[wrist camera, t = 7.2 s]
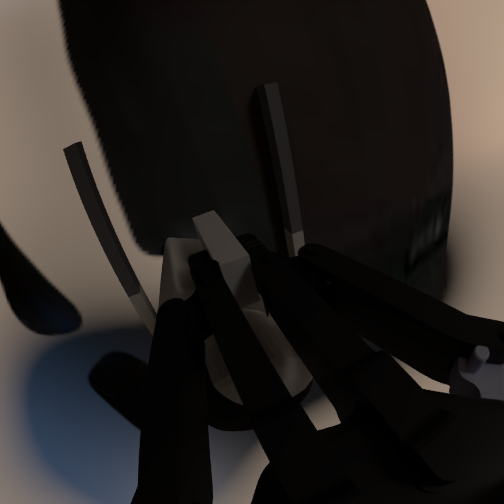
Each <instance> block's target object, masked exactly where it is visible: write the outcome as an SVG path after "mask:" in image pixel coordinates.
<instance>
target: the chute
mask: <svg viewBox="0 0 504 504" xmlns="http://www.w3.org/2000/svg"><path fill="white" fill-rule="evenodd" d="M256 89H257V93H258V97H259V102H260V106H261V111H262V116H263V120H264V125H265V130H266V135H267V140H268V144H269V149H270V154H271V159H272V165H273V170H274V175H275V180H276V186H277V191H278V196H279V202H280V208H281V213H282V219H283V225H284V231H285V236H286V242H287V249H288V255H289V257H294V256H298V250H299V249H300V248H301V247H302V246H304V245H305V244H304V236H303V229H302V221H301V214H300V207H299V200H298V194H297V187H296V181H295V174H294V168H293V162H292V157H291V151H290V145H289V140H288V134H287V129H286V124H285V118H284V113H283V108H282V104H281V99H280V94H279V89H278V85H277V83H270V84H264V85H260V86H257V87H256ZM63 150H64V153H65V156H66V160H67V163H68V165H69V168H70V171H71V174H72V177H73V180H74V182H75V185H76V188H77V190H78V193H79V195H80V198H81V200H82V203H83V205H84V208H85V210H86V212H87V215H88V217H89V219H90V222H91V224H92V226H93V228H94V231H95V233H96V235H97V237H98V239H99V241H100V244H101V246H102V247H103V250H104V252H105V254H106V256H107V258H108V260H109V262H110V264H111V265H112V268H113V270H114V271H115V273H116V275H117V277H118V279H119V281H120V283H121V284H122V286H123V288H124V290H125V292H126V293H127V295H128V297H129V299H130V300H131V302H132V304H133V305H134V307H135V309H136V310H137V312H138V314H139V315H140V317H141V319H142V320H143V322H144V324H145V325H146V327H147V328H148V330H149V331H150V333H151V334H152V336H153V334H154V328H155V323H156V317H157V314H156V312H155V310H154V308H153V307H152V305H151V303H150V301H149V299H148V297H147V296H146V294H145V292H144V290H143V288H142V286H141V284H140V282H139V281H138V279H137V277H136V275H135V273H134V271H133V269H132V267H131V265H130V263H129V261H128V258H127V256H126V254H125V252H124V250H123V248H122V246H121V244H120V242H119V239H118V237H117V235H116V233H115V230H114V228H113V226H112V223H111V221H110V219H109V216H108V214H107V212H106V209H105V207H104V204H103V201H102V199H101V196H100V194H99V191H98V189H97V187H96V183H95V181H94V178H93V175H92V172H91V169H90V167H89V164H88V160H87V158H86V154H85V152H84V148H83V145H82V142H77V143H74V144H72V145H70V146H68V147H67V148H65V149H63Z"/></svg>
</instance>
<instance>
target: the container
mask: <svg viewBox="0 0 504 504" xmlns="http://www.w3.org/2000/svg"><path fill="white" fill-rule="evenodd" d="M200 251H203V249H202V246H201V243H200V240H196V239H184V238H172V237H170V238H167V239H166V241H165V247H164V255H163V264H162V274H161V284H160V296H159V307H160V306H161V305H162V304H163V303H164V302H165V301H167V300H169V299H172V298H181V299H183V300H184V301H185V300H186V299H188V298H189V297H190V296H192V294H193V293H194V292H195V289H196V286H195V284H194V281H193V279H192V277H191V274H190V267H189V264H188V258H189V256H190V255H192V254H195V253H197V252H200ZM259 296H260V301H257V302H255V303H253V304H250V305H248V306H245V307H243V308H241V310H242V312H243V314H244V316H245V317H246V319H247V321H248V323H249V324H250V326H251V328H252V330H253V331H254V333H255V335H256V337H257V338H258V340H259V342H260V344H261V345H262V347H263V349H264V351H265V352H266V354H267V356H268V357H269V359H270V361H271V362H272V364H273V366H274V368H275V369H276V371H277V373H278V374H279V376H280V378H281V379H282V381H283V383H284V384H285V386H286V388H287V389H288V391H289V392H290V394H291V396H292V397H293V398H294V399H296V400H297V401H298V402H299V403H301V402H302V401H303V399H304V398H305V397H306V396H307V394H308V393H309V391H310V389H311V386H312V382H313V376H312V375H311V373H310V372H309V371H308V369H307V368H306V366H305V365H304V363H303V362H302V361H301V359H300V358H299V356H298V355H297V353H296V352H295V350H294V349H293V347H292V346H291V345H290V343H289V342H288V340H287V339H286V337H285V336H284V334H283V333H282V331H281V330H280V328H279V327H278V325H277V324H276V323H275V321H274V320H273V318H272V317H271V315H270V314H269V317H267V315H266V311H265V307H264V303H263V299H262V297H261V295H260V294H259ZM204 342H205V363H206V395H207V416H208V425H210V426H212V427H214V428H216V429H219V430H223V431H244V430H252V429H253V427H252V425H251V422H250V419H249V416H248V414H247V412H246V410H245V408H244V405H243V403H242V401H241V399H240V396H239V394H238V392H237V390H236V387H235V385H234V383H233V381H232V378H231V376H230V374H229V371H228V369H227V366H226V364H225V362H224V359H223V357H222V354H221V352H220V349H219V347H218V344H217V342H216V339H215V337H214V334H213V335H211V336H210V337H208V338H207V339H206V340H204Z"/></svg>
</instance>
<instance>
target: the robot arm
mask: <svg viewBox="0 0 504 504" xmlns="http://www.w3.org/2000/svg"><path fill="white" fill-rule="evenodd" d="M192 219H193V222H194V225H195V228H196V231H197V234H198V237H199V240H200V243H201V246H202V249H203V251H200V252H197V253H195V254H192V255H190V256H189V258H188V264H189V267H190V274H191V277H192V279H193V281H194V284H195V286H196V289H195V292H194V293H193V294H192V296H190V297H189V298H188V299H186V300H185V301H184V300H183V299H181V298H172V299H169V300H167V301H165V302H164V303H163V304H162V305H161V306H160V307H159V309H158V312H157V317H156V323H155V328H154V334H153V339H152V345H151V352H150V358H149V365H148V371H147V379H146V386H145V394H144V403H143V412H142V422H141V434H140V448H139V467H138V487H137V489H136V492H135V494H134V497H133V499H132V502H131V504H212V502H213V485H212V474H211V463H210V450H209V435H208V416H207V395H206V363H205V342H204V340H206V339H207V338H208V337H210V336H211V335H213V334H214V337H215V339H216V342H217V344H218V347H219V349H220V352H221V354H222V357H223V359H224V362H225V364H226V366H227V369H228V371H229V374H230V376H231V378H232V381H233V383H234V385H235V387H236V390H237V392H238V394H239V396H240V399H241V401H242V403H243V405H244V408H245V410H246V412H247V414H248V416H249V419H250V422H251V425H252V427H253V429H254V431H255V433H256V435H257V437H258V439H259V441H260V443H261V446H262V448H263V449H264V451H265V453H266V455H267V457H268V459H269V461H270V462H269V464H268V465H267V466H266V467H265V469H264V470H263V472H262V474H261V476H260V478H259V480H258V483H257V486H256V489H255V493H254V496H253V499H252V502H251V504H504V322H502V321H497V320H492V319H487V318H482V317H477V316H472V315H467V314H465V313H463V312H461V311H459V310H457V309H455V308H453V307H451V306H449V305H447V304H445V303H443V302H441V301H439V300H437V299H435V298H433V297H431V296H429V295H427V294H425V293H423V292H421V291H419V290H417V289H415V288H413V287H411V286H409V285H407V284H405V283H403V282H400V281H398V280H396V279H394V278H392V277H390V276H388V275H386V274H384V273H381V272H379V271H377V270H375V269H373V268H371V267H369V266H366V265H364V264H362V263H360V262H358V261H356V260H353V259H351V258H349V257H347V256H345V255H342V254H340V253H338V252H336V251H333V250H331V249H329V248H327V247H324V246H322V245H319V244H307V245H304V246H302V247H301V248H300V249H299V250H298V256H294V257H288V258H283V257H282V256H281V255H280V254H278V253H275V252H270V251H269V250H268V249H267V248H266V247H265V246H264V245H263V244H262V243H261V242H260V241H259V240H258V239H257V238H256V237H255V236H254V235H252V234H249V233H246V234H244V235H241V236H238V237H235V236H234V235H233V234H232V233H231V231H230V230H229V229H228V227H227V226H226V225H225V224H224V222H223V221H222V220H221V219H220V217H219V216H218V215H217V214H216V212H215V211H214V210H213V211H210V212H207V213H205V214H202V215H199V216H196V217H193V218H192ZM327 280H328V281H330V282H332V284H330V283H328V282H327ZM259 294H260V295H261V297H262V299H263V303H264V307H265V311H266V315H267V317H269V314H270V315H271V317H272V318H273V320H274V321H275V323H276V324H277V325H278V327H279V328H280V330H281V331H282V333H283V334H284V336H285V337H286V339H287V340H288V342H289V343H290V345H291V346H292V347H293V349H294V350H295V352H296V353H297V355H298V356H299V358H300V359H301V361H302V362H303V363H304V365H305V366H306V368H307V369H308V371H309V372H310V373H311V375H312V376H313V378H314V379H315V381H316V382H317V383H318V385H319V386H320V388H321V389H322V390H323V392H324V393H325V394H326V396H327V398H328V399H329V401H330V402H331V403H332V405H333V406H334V408H335V410H336V412H337V415H338V417H339V419H340V422H341V423H340V424H338V425H335V426H332V427H328V428H325V429H322V430H318V431H317V430H316V428H315V426H314V425H313V423H312V422H311V420H310V419H309V417H308V415H307V414H306V412H305V411H304V409H303V408H302V406H301V405H300V403H299V402H298V401H297V400H296V399H294V398H293V397H292V396H291V394H290V392H289V391H288V389H287V388H286V386H285V384H284V383H283V381H282V379H281V378H280V376H279V374H278V373H277V371H276V369H275V368H274V366H273V364H272V362H271V361H270V359H269V357H268V356H267V354H266V352H265V351H264V349H263V347H262V345H261V344H260V342H259V340H258V338H257V337H256V335H255V333H254V331H253V330H252V328H251V326H250V324H249V323H248V321H247V319H246V317H245V316H244V314H243V312H242V310H241V308H243V307H245V306H248V305H250V304H253V303H255V302H257V301H260V296H259ZM356 332H357V333H358V334H360V335H361V336H363V337H364V338H366V339H368V340H369V341H371V342H372V343H374V344H375V345H377V346H379V347H380V348H382V349H383V350H385V351H387V352H388V353H390V354H391V355H393V356H394V357H396V358H398V359H399V360H401V361H402V362H404V363H406V364H407V365H409V366H410V367H412V368H414V369H415V370H417V371H418V372H420V373H422V374H423V375H425V376H427V377H429V378H431V379H433V380H435V381H438V382H440V383H443V384H447V385H449V386H450V389H449V393H450V394H449V393H443V392H437V391H431V390H426V389H422V388H421V387H420V386H419V385H418V384H417V383H416V381H415V380H414V379H413V378H412V377H411V376H410V375H409V374H408V373H407V372H406V371H405V370H404V369H403V368H402V367H401V366H400V365H399V364H398V363H397V362H396V361H395V360H394V359H393V358H392V357H391V355H389V354H388V353H387V352H385V351H382V350H381V351H378V352H375V351H373V350H372V349H371V348H370V347H369V346H368V345H367V344H366V343H365V342H364V341H363V340H362V339H361V338H360V336H359V335H358V334H357V333H356Z"/></svg>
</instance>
